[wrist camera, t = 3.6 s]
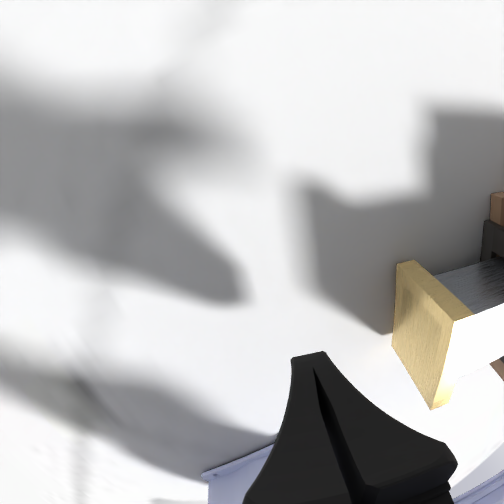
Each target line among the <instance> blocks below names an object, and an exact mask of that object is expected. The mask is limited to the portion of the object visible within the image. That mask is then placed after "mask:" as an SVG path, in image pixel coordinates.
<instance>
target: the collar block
mask: <svg viewBox="0 0 504 504" xmlns="http://www.w3.org/2000/svg"><path fill="white" fill-rule="evenodd" d="M499 256H501V257H502V258H504V192H498V193H492V194H491V209H490V220H487V221H484V230H483V241H482V251H481V259H480V262H483V261H486V260H489V259H492V258H495V257H499ZM489 364H490V365H491V366H492V367H493V369H494V370H495V371H496V372H497V373H498V375H499V376H500V377H501V378H502V380H503V381H504V356H502V357H500V358H498V359H496V360H494V361H492V362H490V363H489Z"/></svg>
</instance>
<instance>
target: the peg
mask: <svg viewBox="0 0 504 504" xmlns="http://www.w3.org/2000/svg"><path fill="white" fill-rule="evenodd" d="M392 347H393V349H394V350H395V352H396V353H397V355H398V357H399V358H400V360H401V361H402V363H403V365H404V366H405V368H406V370H407V371H408V373H409V375H410V376H411V378H412V380H413V381H414V383H415V385H416V386H417V388H418V390H419V391H420V393H421V395H422V397H423V398H424V400H425V402H426V404H427V405H428V407H429V409H430V410H433V409H435V408H437V407H440V406H442V405H445V404H447V403H449V400H450V397H451V394H452V392H453V389H454V386H455V383H456V380H457V378H459V377H461V376H463V375H465V374H467V373H470V372H472V371H474V370H476V369H478V368H480V367H482V366H484V365H486V364H488V363H490V362H492V361H494V360H496V359H498V358H500V357H502V356H504V258H502V257H501V256H499V257H495V258H492V259H489V260H486V261H483V262H479V263H476V264H473V265H469V266H466V267H462V268H459V269H456V270H452V271H449V272H445V273H441V274H438V275H434V276H432V275H431V274H430V273H429V272H428V271H427V270H426V269H424V268H423V267H422V266H421V265H420V264H419V263H417V262H416V261H415V260H411V261H407V262H403V263H398V264H397V269H396V295H395V312H394V325H393V336H392Z"/></svg>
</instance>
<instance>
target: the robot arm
mask: <svg viewBox="0 0 504 504" xmlns="http://www.w3.org/2000/svg"><path fill="white" fill-rule="evenodd" d="M291 368H292V375H291V386H290V392H289V398H288V403H287V407H286V411H285V415H284V418H283V422H282V425H281V428H280V431H279V433H278V436H277V438H276V441H275V443H274V444H272V445H270V446H268V447H266V448H264V449H261V450H259V451H257V452H255V453H252V454H250V455H248V456H245V457H243V458H240V459H238V460H235V461H233V462H230V463H228V464H225V465H223V466H220V467H217V468H215V469H212V470H209V471H206V472H204V473H202V474H201V478H202V479H204V480H206V481H208V482H209V489H208V504H504V470H502V471H501V472H500V473H498V474H496V475H495V476H493V477H491V478H490V479H488V480H487V481H485V482H483V483H482V484H480V485H478V486H476V487H475V488H473V489H471V490H469V491H467V492H466V493H464V494H462V495H460V496H458V497H456V498H454V499H452V498H451V495H450V493H449V490H450V489H451V487H450V485H449V482H448V480H449V478H450V477H451V476H452V474H453V473H454V471H455V470H456V468H457V465H458V463H457V460H456V458H455V456H454V455H453V453H452V452H451V450H450V449H449V448H448V446H447V445H446V444H445V443H443V442H441V441H438V440H435V439H433V438H430V437H428V436H425V435H423V434H421V433H419V432H417V431H415V430H413V429H411V428H409V427H407V426H406V425H404V424H402V423H400V422H399V421H397V420H395V419H394V418H392V417H391V416H389V415H388V414H386V413H385V412H383V411H382V410H381V409H379V408H378V407H377V406H375V405H374V404H373V403H372V402H370V401H369V400H368V399H367V398H366V397H365V396H364V395H362V394H361V393H360V392H359V391H358V390H357V389H356V388H355V387H354V386H353V385H352V384H351V383H350V382H349V381H348V380H347V379H346V378H345V377H344V375H343V374H342V373H341V372H340V371H339V370H338V368H337V367H336V366H335V365H334V364H333V362H332V361H331V360H330V358H329V357H328V355H327V354H326V352H324V351H321V352H316V353H312V354H307V355H302V356H297V357H293V358H292V359H291Z"/></svg>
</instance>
